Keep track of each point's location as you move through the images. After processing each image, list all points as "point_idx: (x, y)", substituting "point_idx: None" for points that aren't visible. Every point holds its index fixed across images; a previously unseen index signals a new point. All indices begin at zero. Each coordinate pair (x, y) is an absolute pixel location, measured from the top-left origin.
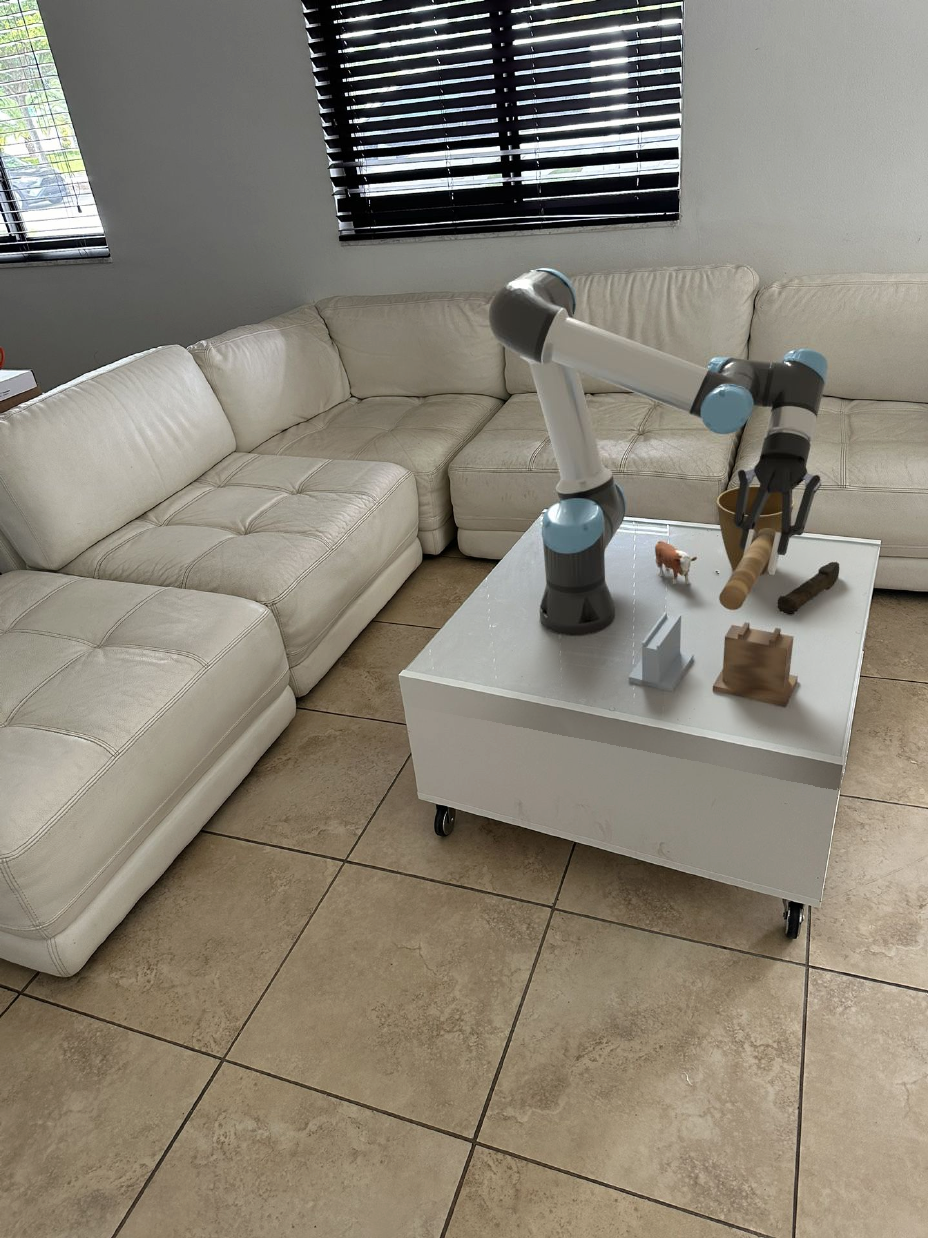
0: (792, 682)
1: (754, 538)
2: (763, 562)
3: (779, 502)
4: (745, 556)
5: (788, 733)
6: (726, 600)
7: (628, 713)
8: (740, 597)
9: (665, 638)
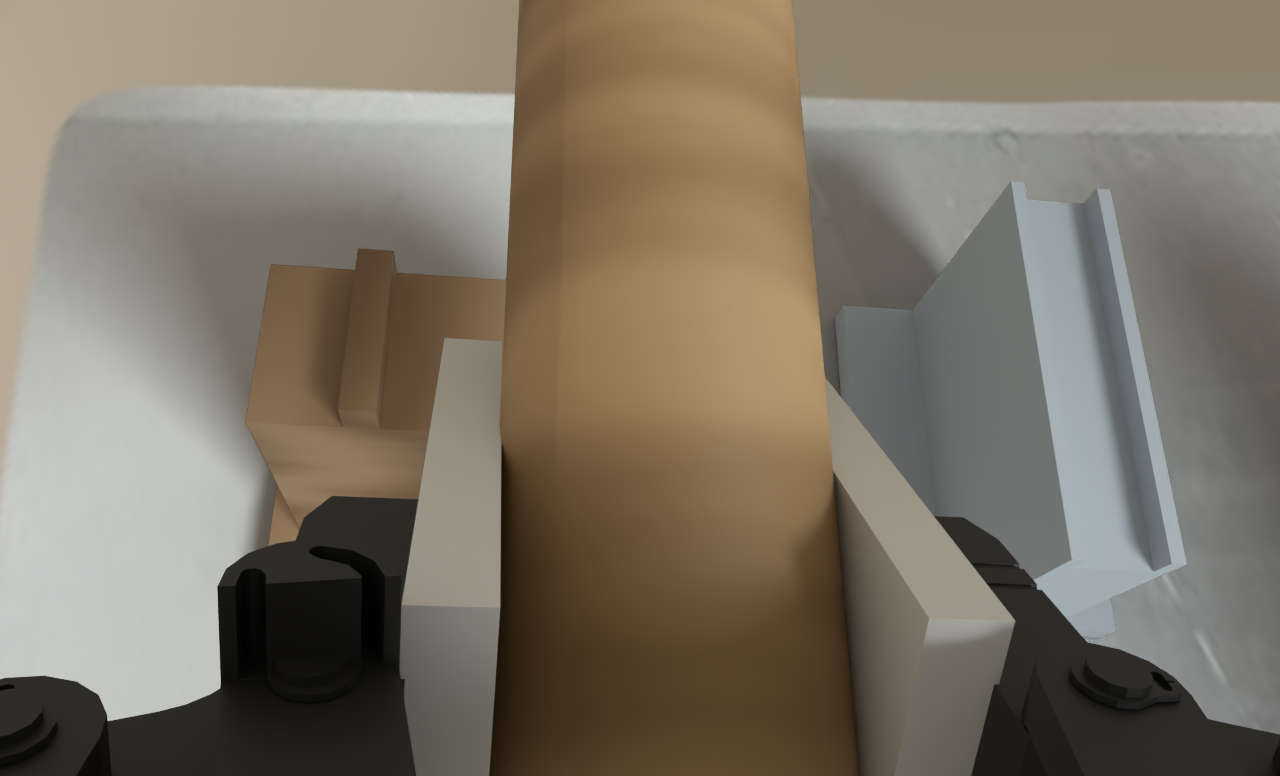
0: (283, 533)
1: (860, 723)
2: (526, 48)
3: None
4: None
5: (266, 194)
6: None
7: (933, 133)
8: None
9: (1021, 281)
